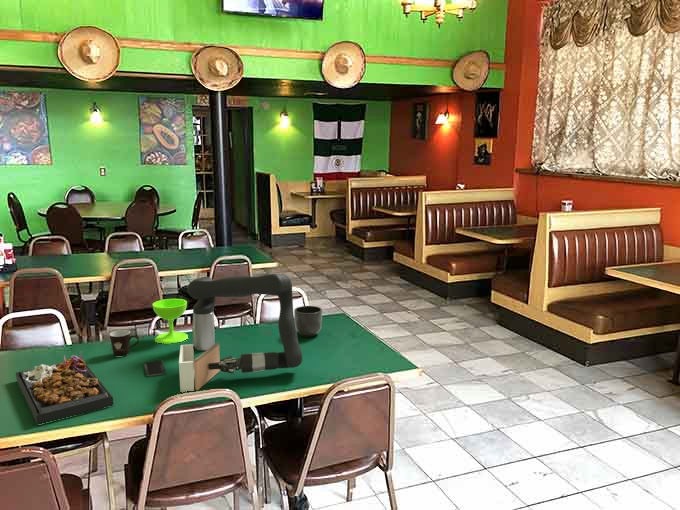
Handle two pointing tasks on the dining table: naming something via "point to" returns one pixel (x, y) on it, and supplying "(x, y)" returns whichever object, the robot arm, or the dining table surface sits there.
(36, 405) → the food platter
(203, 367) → the panel
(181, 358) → the box
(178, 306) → the wineglass
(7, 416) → the dining table surface
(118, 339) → the coffee mug
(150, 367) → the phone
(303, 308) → the planter
